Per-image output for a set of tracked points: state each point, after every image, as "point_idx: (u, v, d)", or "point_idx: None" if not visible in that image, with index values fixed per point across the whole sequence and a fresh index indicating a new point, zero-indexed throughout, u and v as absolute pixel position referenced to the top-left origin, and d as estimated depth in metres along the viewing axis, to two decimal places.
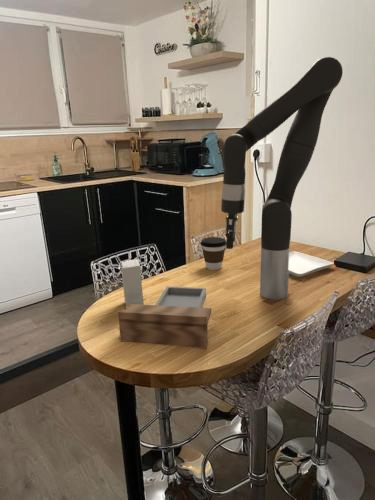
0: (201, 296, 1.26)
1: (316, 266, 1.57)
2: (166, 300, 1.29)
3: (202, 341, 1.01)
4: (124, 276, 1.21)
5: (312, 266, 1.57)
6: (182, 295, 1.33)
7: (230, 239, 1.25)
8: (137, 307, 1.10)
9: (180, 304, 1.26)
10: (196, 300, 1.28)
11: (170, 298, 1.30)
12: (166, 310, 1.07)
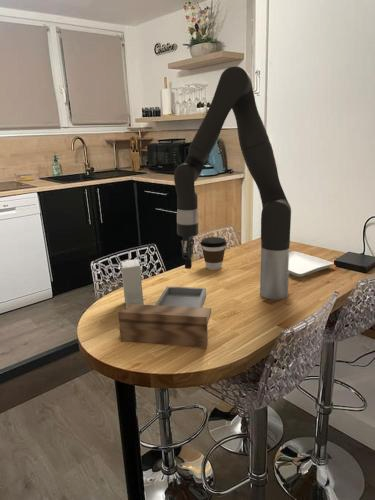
0: (201, 296, 1.26)
1: (316, 266, 1.57)
2: (166, 300, 1.29)
3: (202, 341, 1.01)
4: (124, 276, 1.21)
5: (312, 266, 1.57)
6: (182, 295, 1.33)
7: (187, 260, 1.36)
8: (137, 307, 1.10)
9: (180, 304, 1.26)
10: (196, 300, 1.28)
11: (170, 298, 1.30)
12: (166, 310, 1.07)
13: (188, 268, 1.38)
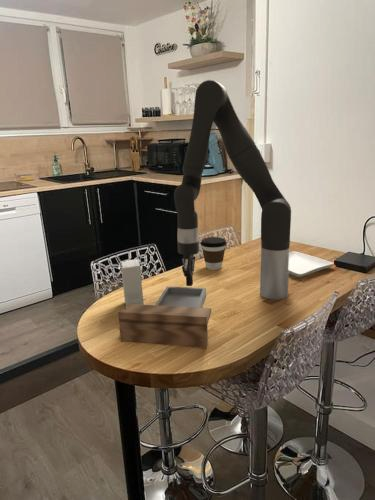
0: (201, 296, 1.26)
1: (316, 266, 1.57)
2: (166, 300, 1.29)
3: (202, 341, 1.01)
4: (124, 276, 1.21)
5: (312, 266, 1.57)
6: (182, 295, 1.33)
7: (189, 278, 1.38)
8: (137, 307, 1.10)
9: (180, 304, 1.26)
10: (196, 300, 1.28)
11: (170, 298, 1.30)
12: (166, 310, 1.07)
13: (189, 285, 1.40)
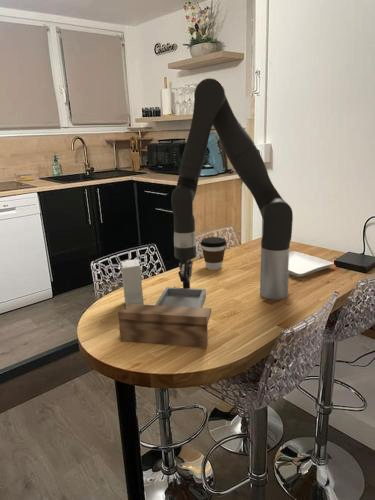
0: (201, 297, 1.25)
1: (316, 266, 1.57)
2: (165, 301, 1.28)
3: (202, 341, 1.01)
4: (124, 276, 1.21)
5: (312, 266, 1.57)
6: (182, 296, 1.32)
7: (186, 283, 1.33)
8: (137, 307, 1.10)
9: (179, 305, 1.25)
10: (196, 301, 1.27)
11: (169, 299, 1.29)
12: (166, 310, 1.07)
13: None
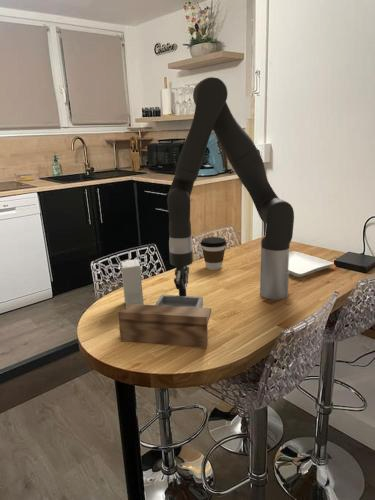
0: (197, 306, 1.19)
1: (316, 266, 1.57)
2: None
3: (202, 341, 1.01)
4: (124, 276, 1.21)
5: (312, 266, 1.57)
6: (178, 304, 1.26)
7: (182, 291, 1.27)
8: (137, 307, 1.10)
9: None
10: None
11: None
12: (166, 310, 1.07)
13: None
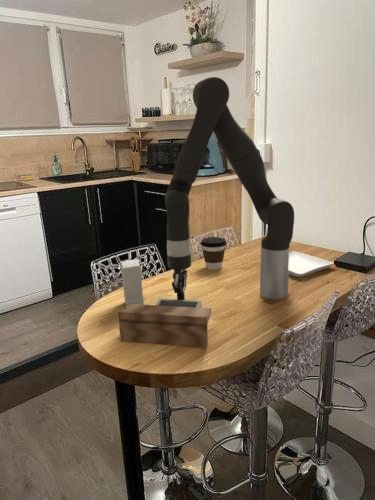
0: None
1: (316, 266, 1.57)
2: None
3: (202, 341, 1.01)
4: (124, 276, 1.21)
5: (312, 266, 1.57)
6: None
7: (180, 294, 1.24)
8: (137, 307, 1.10)
9: None
10: None
11: None
12: (166, 310, 1.07)
13: None
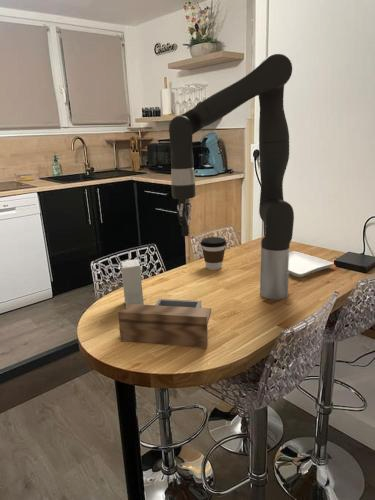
0: None
1: (316, 266, 1.57)
2: None
3: (202, 341, 1.01)
4: (124, 276, 1.21)
5: (312, 266, 1.57)
6: None
7: (184, 226, 1.24)
8: (137, 307, 1.10)
9: None
10: None
11: None
12: (166, 310, 1.07)
13: (185, 235, 1.25)
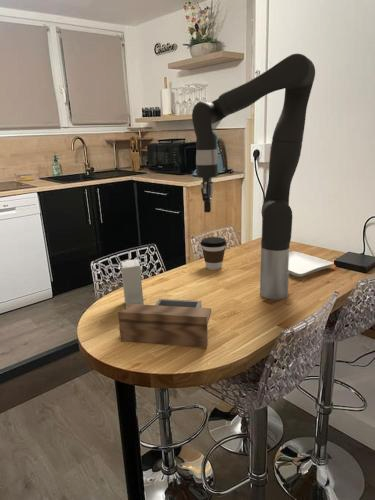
0: None
1: (316, 266, 1.57)
2: None
3: (202, 341, 1.01)
4: (124, 276, 1.21)
5: (312, 266, 1.57)
6: None
7: (207, 203, 1.37)
8: (137, 307, 1.10)
9: None
10: None
11: None
12: (166, 310, 1.07)
13: (208, 211, 1.38)
